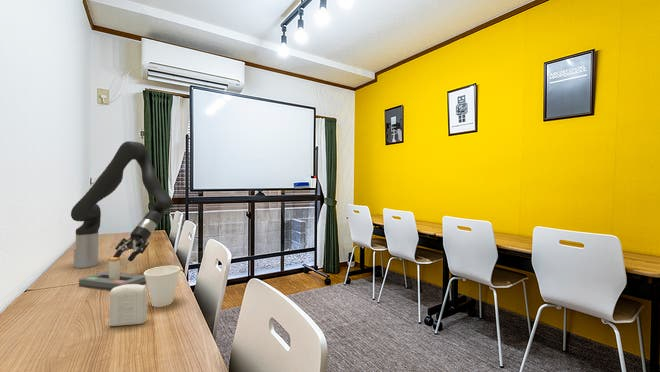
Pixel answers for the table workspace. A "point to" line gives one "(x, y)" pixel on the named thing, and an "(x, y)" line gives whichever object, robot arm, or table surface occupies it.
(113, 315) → the photo printer
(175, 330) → the table surface
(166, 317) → the table surface
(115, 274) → the handle
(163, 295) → the cup
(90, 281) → the slotted lever switch base
